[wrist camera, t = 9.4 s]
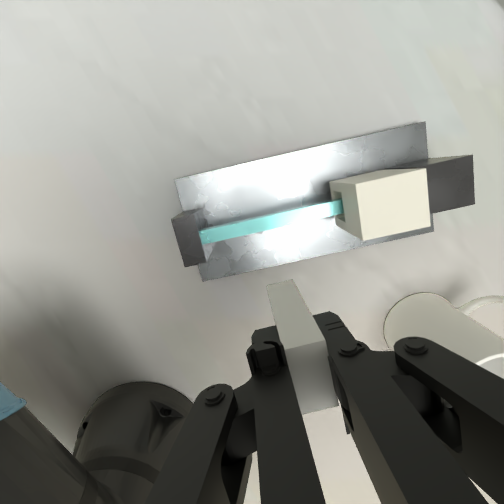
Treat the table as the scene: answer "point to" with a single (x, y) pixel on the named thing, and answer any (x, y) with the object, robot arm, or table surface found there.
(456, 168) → the glowing rod on plate
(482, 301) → the mug
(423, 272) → the table surface
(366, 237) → the sleeve
